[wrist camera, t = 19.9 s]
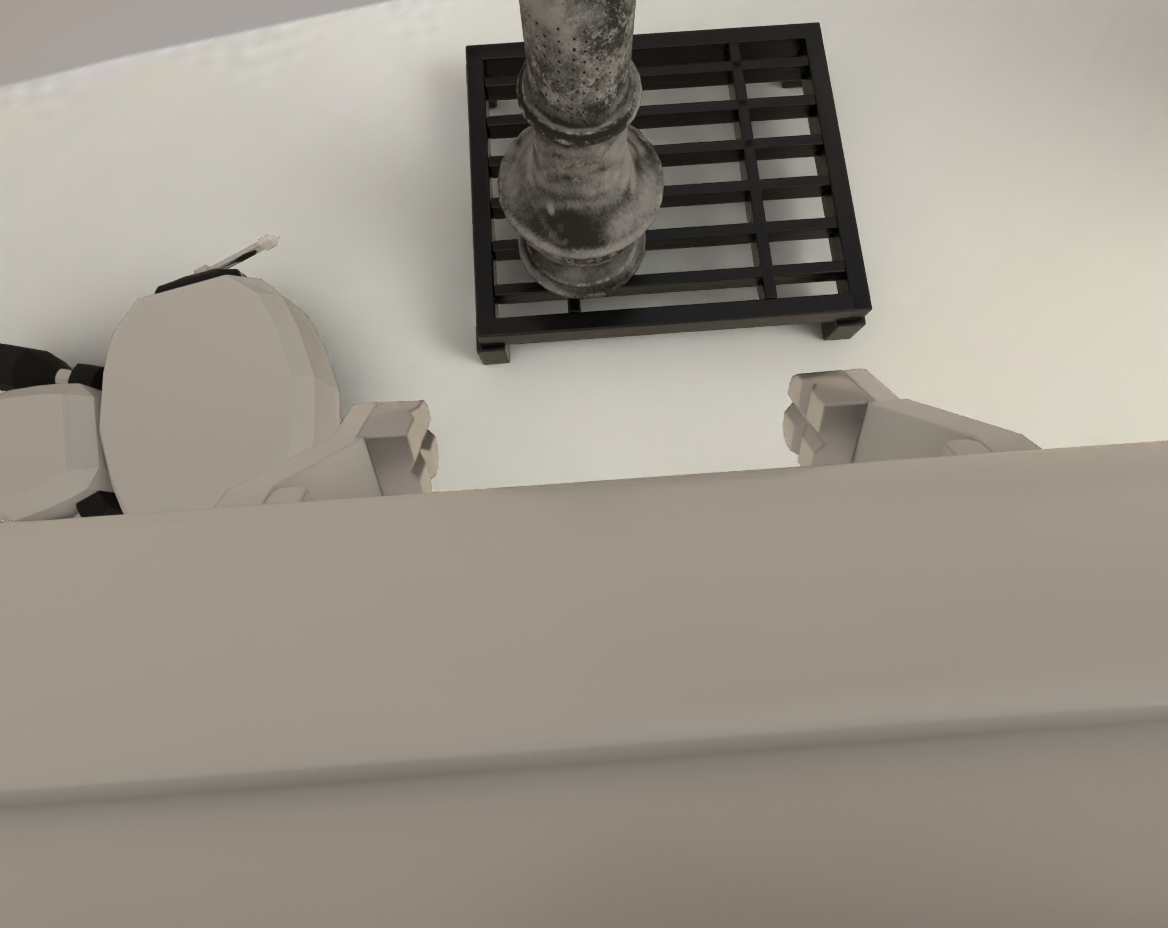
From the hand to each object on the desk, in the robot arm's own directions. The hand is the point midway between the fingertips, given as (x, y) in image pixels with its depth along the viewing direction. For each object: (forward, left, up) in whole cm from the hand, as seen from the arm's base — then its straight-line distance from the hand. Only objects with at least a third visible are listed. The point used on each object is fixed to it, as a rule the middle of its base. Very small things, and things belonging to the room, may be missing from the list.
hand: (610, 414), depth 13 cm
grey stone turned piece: (0, -10, -9) cm, 13 cm away
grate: (-3, -13, -11) cm, 18 cm away
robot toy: (+18, -3, -11) cm, 21 cm away
